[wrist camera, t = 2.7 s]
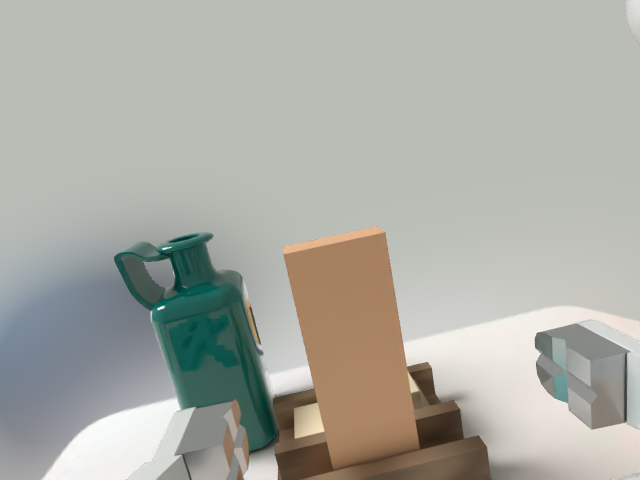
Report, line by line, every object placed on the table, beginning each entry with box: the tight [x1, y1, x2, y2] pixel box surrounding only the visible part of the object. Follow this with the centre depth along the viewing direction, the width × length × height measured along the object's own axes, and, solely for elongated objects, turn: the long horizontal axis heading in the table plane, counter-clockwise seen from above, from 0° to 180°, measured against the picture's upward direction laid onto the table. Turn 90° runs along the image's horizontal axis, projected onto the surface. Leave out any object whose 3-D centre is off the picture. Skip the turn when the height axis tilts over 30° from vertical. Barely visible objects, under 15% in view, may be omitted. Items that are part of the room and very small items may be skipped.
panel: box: [284, 227, 420, 471], centre depth 23 cm, size 6×2×20 cm, turn 95°
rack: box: [273, 362, 491, 480], centre depth 28 cm, size 16×14×6 cm
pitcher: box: [114, 232, 278, 452], centre depth 35 cm, size 10×8×22 cm
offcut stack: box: [294, 371, 430, 439], centre depth 31 cm, size 12×5×5 cm, turn 95°
